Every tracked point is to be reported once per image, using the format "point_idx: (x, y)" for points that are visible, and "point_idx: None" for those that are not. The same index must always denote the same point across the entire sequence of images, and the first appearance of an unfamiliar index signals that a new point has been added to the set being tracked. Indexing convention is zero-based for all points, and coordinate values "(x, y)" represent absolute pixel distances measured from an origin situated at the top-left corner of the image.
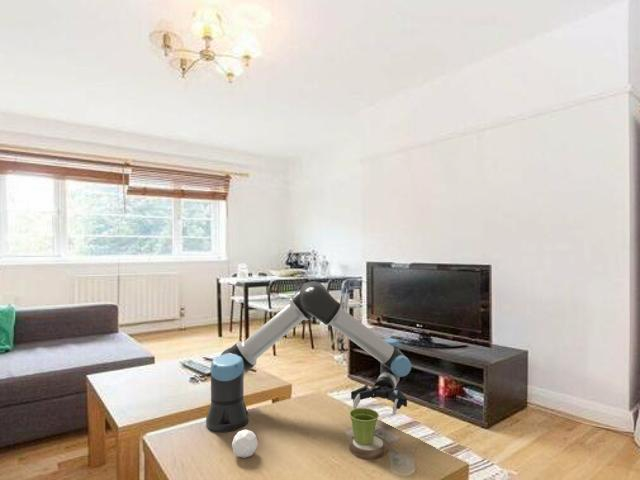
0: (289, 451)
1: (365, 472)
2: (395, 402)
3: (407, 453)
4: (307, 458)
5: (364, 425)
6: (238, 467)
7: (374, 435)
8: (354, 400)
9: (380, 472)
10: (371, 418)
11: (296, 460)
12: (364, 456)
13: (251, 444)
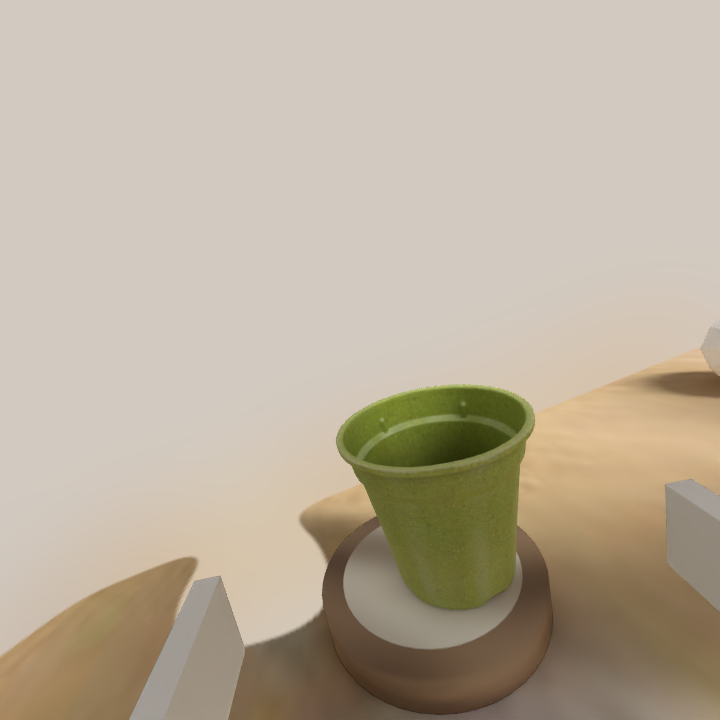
0: (690, 440)
1: None
2: (152, 704)
3: None
4: (592, 447)
5: (402, 424)
6: (684, 371)
7: (430, 661)
8: (693, 488)
9: (330, 502)
10: (415, 509)
11: (607, 430)
12: None
13: (706, 340)
